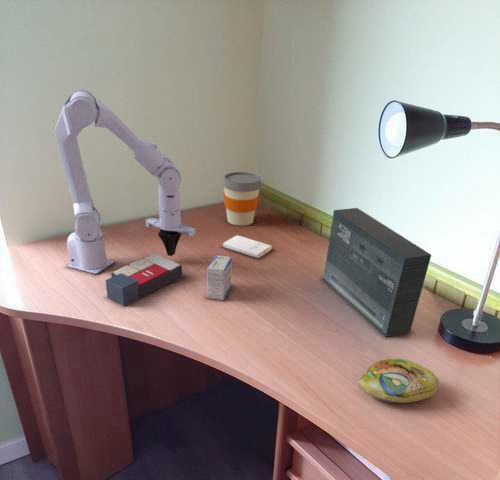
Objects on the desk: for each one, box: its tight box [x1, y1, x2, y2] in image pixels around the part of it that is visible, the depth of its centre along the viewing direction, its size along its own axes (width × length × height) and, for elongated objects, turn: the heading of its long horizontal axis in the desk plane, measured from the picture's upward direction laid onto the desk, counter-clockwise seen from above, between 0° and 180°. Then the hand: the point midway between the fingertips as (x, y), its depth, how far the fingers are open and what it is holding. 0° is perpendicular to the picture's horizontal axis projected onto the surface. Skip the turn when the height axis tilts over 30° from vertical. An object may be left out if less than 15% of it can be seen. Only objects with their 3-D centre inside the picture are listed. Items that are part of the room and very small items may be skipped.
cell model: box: [357, 357, 440, 404], centre depth 96 cm, size 11×8×15 cm
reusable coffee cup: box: [222, 171, 262, 227], centre depth 165 cm, size 13×13×15 cm
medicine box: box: [206, 254, 233, 301], centre depth 124 cm, size 8×4×9 cm, turn 168°
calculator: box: [110, 252, 183, 299], centre depth 129 cm, size 11×4×15 cm
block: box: [105, 273, 140, 307], centre depth 120 cm, size 6×5×5 cm
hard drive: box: [222, 234, 273, 259], centre depth 150 cm, size 2×8×12 cm
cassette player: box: [323, 207, 432, 338], centre depth 120 cm, size 29×7×20 cm, turn 22°
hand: (171, 254), depth 140 cm, fingers closed
